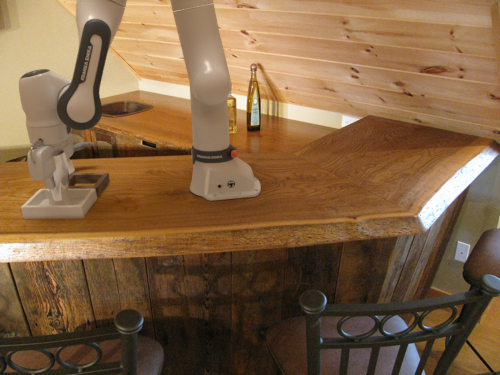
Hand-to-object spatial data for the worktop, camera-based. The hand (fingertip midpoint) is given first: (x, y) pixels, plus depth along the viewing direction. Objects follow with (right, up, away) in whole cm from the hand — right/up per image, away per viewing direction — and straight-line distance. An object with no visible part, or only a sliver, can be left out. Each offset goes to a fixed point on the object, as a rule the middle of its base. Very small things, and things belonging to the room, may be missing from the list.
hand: (57, 182), depth 111 cm
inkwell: (-8, +5, +30) cm, 32 cm away
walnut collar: (+1, -2, +16) cm, 16 cm away
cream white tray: (0, -7, +3) cm, 8 cm away
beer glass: (0, -6, +3) cm, 6 cm away
